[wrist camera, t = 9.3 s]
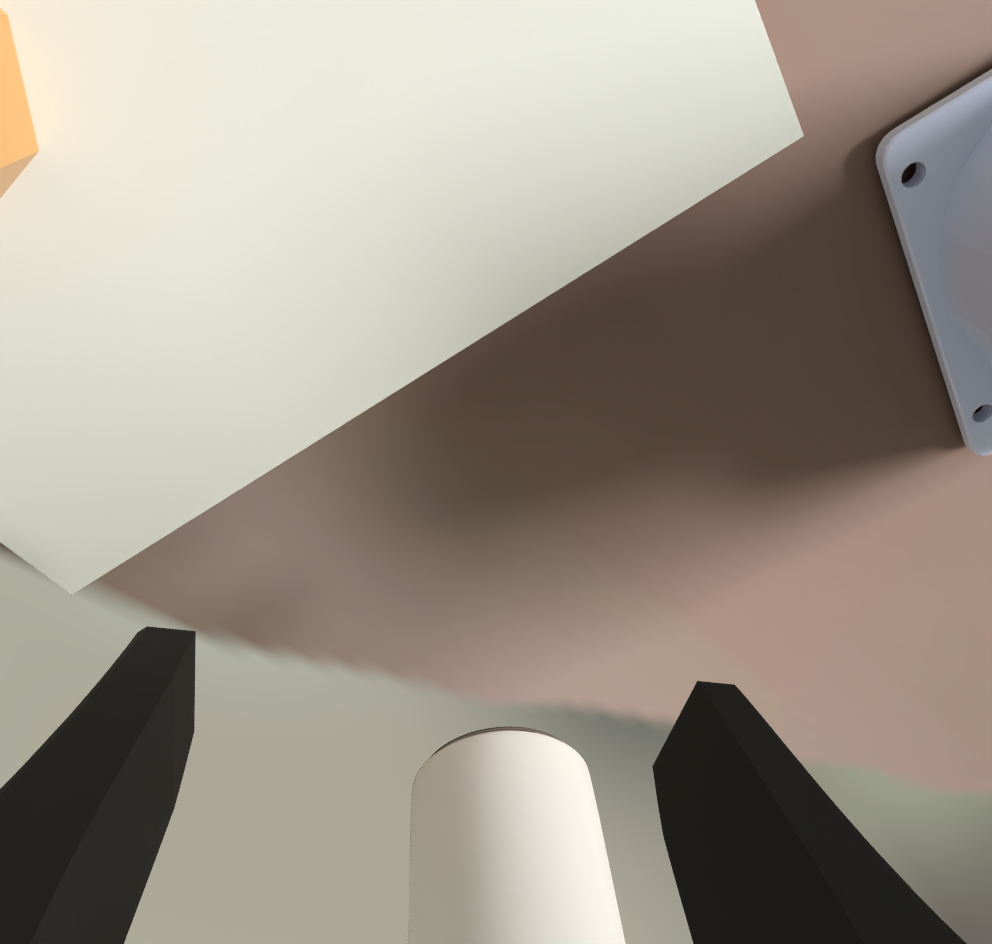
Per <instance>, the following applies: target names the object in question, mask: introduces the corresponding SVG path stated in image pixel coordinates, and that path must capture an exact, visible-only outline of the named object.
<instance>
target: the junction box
mask: <svg viewBox="0 0 992 944" xmlns="http://www.w3.org/2000/svg"><path fill="white" fill-rule="evenodd" d="M0 8H1V9H2V10H3V11H4V12H5V13H6V14H7V15H8V18H9V22H10V26H11V31H12V35H13V39H14V44H15V48H16V53H17V57H18V61H19V66H20V70H21V74H22V79H23V83H24V87H25V92H26V96H27V100H28V105H29V109H30V114H31V118H32V122H33V127H34V131H35V135H36V140H37V144H38V148H39V152H38V153H37V154H36V156H35V157H34V158H33V159H32V160H31V162H30V163H29V164H28V165H27V166H26V168H25V169H24V170H23V171H22V173H21V174H20V175H19V176H18V177H17V179H16V180H15V181H14V182H13V184H12V185H11V186H10V187H9V188H8V190H7V191H6V192H5V193H4V194H3V196H2V197H1V198H0V542H1V543H2V544H3V545H5V546H6V547H7V548H9V549H10V550H11V551H13V552H14V553H16V554H17V555H18V556H20V557H21V558H22V559H24V560H25V561H26V562H28V563H29V564H30V565H32V566H33V567H34V568H36V569H37V570H38V571H40V572H41V573H43V574H44V575H45V576H47V577H48V578H49V579H51V580H52V581H53V582H55V583H56V584H57V585H59V586H60V587H61V588H63V589H64V590H66V591H67V592H68V593H70V594H71V595H72V594H74V593H75V592H77V591H78V590H80V589H82V588H83V587H85V586H86V585H88V584H90V583H91V582H93V581H94V580H96V579H98V578H99V577H101V576H102V575H104V574H106V573H107V572H109V571H110V570H112V569H114V568H115V567H117V566H118V565H120V564H122V563H123V562H125V561H126V560H128V559H130V558H131V557H133V556H134V555H136V554H138V553H139V552H141V551H142V550H144V549H145V548H147V547H149V546H150V545H152V544H153V543H155V542H157V541H158V540H160V539H161V538H163V537H165V536H166V535H168V534H169V533H171V532H173V531H174V530H176V529H177V528H179V527H181V526H182V525H184V524H185V523H187V522H189V521H190V520H192V519H193V518H195V517H197V516H198V515H200V514H201V513H203V512H205V511H206V510H208V509H209V508H211V507H213V506H214V505H216V504H217V503H219V502H220V501H222V500H224V499H225V498H227V497H228V496H230V495H232V494H233V493H235V492H236V491H238V490H240V489H241V488H243V487H244V486H246V485H248V484H249V483H251V482H252V481H254V480H256V479H257V478H259V477H260V476H262V475H264V474H265V473H267V472H268V471H270V470H272V469H273V468H275V467H276V466H278V465H280V464H281V463H283V462H284V461H286V460H287V459H289V458H291V457H292V456H294V455H295V454H297V453H299V452H300V451H302V450H303V449H305V448H307V447H308V446H310V445H311V444H313V443H315V442H316V441H318V440H319V439H321V438H323V437H324V436H326V435H327V434H329V433H331V432H332V431H334V430H335V429H337V428H339V427H340V426H342V425H343V424H345V423H347V422H348V421H350V420H351V419H353V418H355V417H356V416H358V415H359V414H361V413H362V412H364V411H366V410H367V409H369V408H370V407H372V406H374V405H375V404H377V403H378V402H380V401H382V400H383V399H385V398H386V397H388V396H390V395H391V394H393V393H394V392H396V391H398V390H399V389H401V388H402V387H404V386H406V385H407V384H409V383H410V382H412V381H414V380H415V379H417V378H418V377H420V376H422V375H423V374H425V373H426V372H428V371H430V370H431V369H433V368H434V367H436V366H437V365H439V364H441V363H442V362H444V361H445V360H447V359H449V358H450V357H452V356H453V355H455V354H457V353H458V352H460V351H461V350H463V349H465V348H466V347H468V346H469V345H471V344H473V343H474V342H476V341H477V340H479V339H481V338H482V337H484V336H485V335H487V334H489V333H490V332H492V331H493V330H495V329H497V328H498V327H500V326H501V325H503V324H504V323H506V322H508V321H509V320H511V319H512V318H514V317H516V316H517V315H519V314H520V313H522V312H524V311H525V310H527V309H528V308H530V307H532V306H533V305H535V304H536V303H538V302H540V301H541V300H543V299H544V298H546V297H548V296H549V295H551V294H552V293H554V292H556V291H557V290H559V289H560V288H562V287H564V286H565V285H567V284H568V283H570V282H572V281H573V280H575V279H576V278H578V277H579V276H581V275H583V274H584V273H586V272H587V271H589V270H591V269H592V268H594V267H595V266H597V265H599V264H600V263H602V262H603V261H605V260H607V259H608V258H610V257H611V256H613V255H615V254H616V253H618V252H619V251H621V250H623V249H624V248H626V247H627V246H629V245H631V244H632V243H634V242H635V241H637V240H639V239H640V238H642V237H643V236H645V235H647V234H648V233H650V232H651V231H653V230H654V229H656V228H658V227H659V226H661V225H662V224H664V223H666V222H667V221H669V220H670V219H672V218H674V217H675V216H677V215H678V214H680V213H682V212H683V211H685V210H686V209H688V208H690V207H691V206H693V205H694V204H696V203H698V202H699V201H701V200H702V199H704V198H706V197H707V196H709V195H710V194H712V193H714V192H715V191H717V190H718V189H720V188H721V187H723V186H725V185H726V184H728V183H729V182H731V181H733V180H734V179H736V178H737V177H739V176H741V175H742V174H744V173H745V172H747V171H749V170H750V169H752V168H753V167H755V166H757V165H758V164H760V163H761V162H763V161H765V160H766V159H768V158H769V157H771V156H773V155H774V154H776V153H777V152H779V151H781V150H782V149H784V148H785V147H787V146H789V145H790V144H792V143H793V142H795V141H796V140H798V139H800V138H801V137H803V136H804V135H803V132H802V129H801V127H800V124H799V121H798V118H797V116H796V113H795V110H794V107H793V105H792V102H791V99H790V96H789V94H788V91H787V88H786V85H785V82H784V80H783V77H782V74H781V71H780V69H779V66H778V63H777V60H776V58H775V55H774V52H773V49H772V47H771V44H770V41H769V38H768V36H767V33H766V30H765V27H764V25H763V22H762V19H761V16H760V13H759V11H758V8H757V5H756V2H755V0H0Z"/></svg>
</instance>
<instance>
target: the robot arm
mask: <svg viewBox="0 0 992 944" xmlns="http://www.w3.org/2000/svg"><path fill="white" fill-rule="evenodd" d="M875 156H876V165H877V168H878V172H879V175H880V178H881V181H882V184H883V187H884V191H885V194H886V197H887V200H888V203H889V206H890V210H891V213H892V216H893V219H894V222H895V225H896V229H897V232H898V235H899V238H900V241H901V244H902V248H903V251H904V254H905V257H906V260H907V263H908V267H909V270H910V273H911V276H912V279H913V282H914V286H915V289H916V292H917V295H918V298H919V301H920V305H921V308H922V311H923V314H924V317H925V320H926V323H927V327H928V330H929V333H930V336H931V339H932V342H933V346H934V349H935V352H936V355H937V358H938V361H939V365H940V368H941V371H942V374H943V377H944V380H945V384H946V387H947V390H948V393H949V396H950V399H951V403H952V406H953V409H954V412H955V415H956V418H957V422H958V425H959V428H960V431H961V434H962V437H963V441H964V443H965V445H966V446H967V448H968V449H970V450H971V451H972V452H973V453H974V454H977V455H979V456H981V455H989V454H992V69H991V70H989V71H988V72H986V73H984V74H983V75H981V76H979V77H978V78H976V79H974V80H973V81H971V82H969V83H968V84H966V85H965V86H963V87H961V88H960V89H958V90H956V91H955V92H953V93H951V94H950V95H948V96H947V97H945V98H943V99H942V100H940V101H938V102H937V103H935V104H933V105H932V106H930V107H929V108H927V109H925V110H924V111H922V112H920V113H919V114H917V115H915V116H914V117H912V118H911V119H909V120H907V121H906V122H904V123H902V124H901V125H899V126H897V127H896V128H894V129H893V130H891V131H890V132H889V133H888V134H887V135H885V136H884V138H883V139H882V141H881V142H880V144H879V145H878V148H877V152H876V155H875ZM912 163H916V171H915V173H914V175H913V177H912V178H911V179H910V180H909V181H908V182H906V183H903V184H902V183H901V176H902V174H903V172H904V170H905V168H906V167H908V166H909V165H910V164H912ZM982 405H984V406H983V407H982V409H981V410H980V411H979V412H977V413H976V414H973V413H974V412H975V410H976V409H977V408H979V407H980V406H982ZM194 698H195V631H187V630H177V629H167V628H157V627H146V628H144V629H142V630H141V631H139V632H138V633H137V634H136V635H135V637H134V638H133V639H132V641H131V642H130V643H129V645H128V646H127V647H126V649H125V650H124V651H123V652H122V654H121V655H120V656H119V657H118V659H117V660H116V661H115V662H114V664H113V665H112V666H111V667H110V669H109V670H108V671H107V672H106V674H105V675H104V676H103V677H102V678H101V680H100V681H99V682H98V683H97V684H96V686H95V687H94V688H93V689H92V690H91V691H90V693H89V694H88V695H87V696H86V697H85V698H84V699H83V701H82V702H81V703H80V704H79V705H78V706H77V708H76V709H75V710H74V711H73V712H72V713H71V714H70V715H69V717H68V718H67V719H66V720H65V721H64V722H63V723H62V724H61V725H60V726H59V727H58V729H57V730H56V731H55V732H54V733H53V734H52V735H51V736H50V737H49V738H48V739H47V740H46V742H45V743H44V744H43V745H42V746H41V747H40V748H39V749H38V750H37V751H36V752H35V753H34V755H33V756H32V757H31V758H30V759H29V760H28V761H27V762H26V763H25V764H24V765H23V766H22V767H21V768H20V769H19V770H18V772H17V773H16V774H15V775H14V776H13V777H12V778H11V779H10V780H9V781H8V782H7V783H6V784H5V785H4V786H3V787H2V788H1V789H0V944H124V942H125V939H126V936H127V933H128V931H129V928H130V926H131V923H132V920H133V917H134V915H135V912H136V910H137V907H138V904H139V901H140V899H141V896H142V894H143V891H144V888H145V886H146V883H147V880H148V878H149V875H150V872H151V870H152V867H153V864H154V861H155V859H156V856H157V853H158V851H159V848H160V845H161V843H162V840H163V837H164V834H165V832H166V829H167V826H168V824H169V821H170V818H171V815H172V812H173V810H174V807H175V803H176V799H177V796H178V792H179V788H180V785H181V781H182V777H183V773H184V769H185V766H186V762H187V757H188V754H189V750H190V746H191V742H192V738H193V734H194V705H195V699H194ZM653 772H654V779H655V787H656V794H657V801H658V807H659V813H660V818H661V825H662V830H663V836H664V840H665V843H666V847H667V851H668V855H669V858H670V862H671V866H672V869H673V873H674V876H675V880H676V884H677V887H678V891H679V895H680V898H681V901H682V905H683V908H684V912H685V915H686V919H687V922H688V926H689V929H690V933H691V936H692V940H693V943H694V944H966V943H965V942H964V941H963V940H962V939H961V938H960V937H959V936H958V935H957V934H956V933H955V932H954V931H953V930H952V929H951V928H950V927H949V926H948V925H946V923H944V921H942V920H941V919H940V918H939V917H938V916H937V915H936V914H935V912H934V911H933V910H932V909H931V908H930V907H929V906H927V904H926V903H925V902H924V901H923V900H922V899H921V898H920V897H919V896H918V895H917V894H916V893H915V892H914V891H913V890H912V889H911V888H910V887H909V886H908V885H907V884H906V882H905V881H903V879H902V878H901V877H900V876H899V875H898V874H897V873H896V872H895V871H894V870H893V868H892V867H891V866H890V865H889V864H888V863H887V862H886V861H885V860H884V859H883V858H882V857H881V856H880V854H879V853H877V851H876V850H875V849H874V848H873V847H872V846H871V845H870V843H869V842H868V841H867V840H866V839H865V838H864V837H863V836H862V834H861V833H860V832H859V831H858V830H857V829H856V828H855V827H854V826H853V824H852V823H851V822H850V821H849V820H848V819H847V818H846V816H845V815H844V814H843V813H842V812H841V811H840V809H839V808H838V807H837V806H836V805H835V804H834V802H833V801H832V800H831V799H830V798H829V797H828V795H827V794H826V793H825V792H824V791H823V790H822V788H821V787H820V786H819V785H818V784H817V782H816V781H815V780H814V779H813V778H812V777H811V775H810V774H809V773H808V772H807V771H806V769H805V768H804V767H803V766H802V764H801V763H800V762H799V761H798V760H797V758H796V757H795V756H794V755H793V754H792V752H791V751H790V750H789V749H788V747H787V746H786V745H785V744H784V743H783V741H782V740H781V739H780V738H779V737H778V735H777V734H776V733H775V732H774V731H773V729H772V728H771V727H770V726H769V724H768V723H767V722H766V721H765V720H764V718H763V717H762V716H761V715H760V714H759V712H758V711H757V710H756V709H755V708H754V706H753V705H752V704H751V703H750V702H749V701H748V699H747V698H746V697H745V696H744V695H743V694H742V692H741V691H740V690H739V689H738V688H737V687H736V686H735V685H732V684H721V683H711V682H701V681H697V683H696V685H695V687H694V689H693V691H692V692H691V694H690V696H689V698H688V700H687V702H686V704H685V706H684V708H683V710H682V711H681V713H680V715H679V717H678V719H677V721H676V723H675V725H674V727H673V729H672V730H671V732H670V734H669V736H668V738H667V740H666V742H665V744H664V746H663V747H662V749H661V751H660V753H659V755H658V757H657V759H656V761H655V763H654V765H653Z"/></svg>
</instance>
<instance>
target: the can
mask: <svg viewBox="0 0 992 944" xmlns="http://www.w3.org/2000/svg"><path fill="white" fill-rule="evenodd" d="M408 931H409V932H408V944H625V940H624V935H623V930H622V925H621V920H620V915H619V911H618V906H617V901H616V896H615V891H614V886H613V882H612V877H611V872H610V867H609V862H608V857H607V853H606V848H605V843H604V838H603V834H602V829H601V824H600V819H599V815H598V810H597V806H596V801H595V796H594V791H593V787H592V783H591V778H590V774H589V771H588V768H587V765H586V763H585V762H584V760H583V759H582V757H581V756H580V755H579V754H578V753H577V752H576V751H575V750H574V749H573V748H571V747H570V746H568V745H567V744H566V743H564V742H563V741H561V740H560V739H558V738H556V737H554V736H552V735H550V734H548V733H545V732H542V731H539V730H534V729H530V728H523V727H496V728H488V729H483V730H479V731H475V732H471V733H468V734H465V735H463V736H460V737H458V738H456V739H454V740H452V741H450V742H448V743H447V744H445V745H444V746H442V747H441V748H440V749H438V750H437V751H436V752H435V753H434V754H433V755H432V756H431V757H430V758H429V759H428V761H426V762H425V764H424V765H423V766H422V767H421V769H420V770H419V771H418V773H417V775H416V777H415V780H414V783H413V788H412V803H411V836H410V881H409V930H408Z"/></svg>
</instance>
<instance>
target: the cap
mask: <svg viewBox="0 0 992 944" xmlns="http://www.w3.org/2000/svg"><path fill="white" fill-rule="evenodd" d="M38 152H39V148H38V144H37V140H36V135H35V131H34V127H33V122H32V118H31V114H30V109H29V105H28V100H27V96H26V92H25V87H24V83H23V79H22V74H21V70H20V66H19V61H18V57H17V53H16V48H15V44H14V39H13V35H12V31H11V26H10V22H9V18H8V15H7V14H6V13H5V12H4V11H3V10H2V9H1V8H0V198H1V197H2V196H3V194H4V193H5V192H6V191H7V190H8V188H9V187H10V186H11V185H12V184H13V182H14V181H15V180H16V179H17V177H18V176H19V175H20V174H21V173H22V171H23V170H24V169H25V168H26V166H27V165H28V164H29V163H30V162H31V160H32V159H33V158H34V157H35V156H36V154H37V153H38Z"/></svg>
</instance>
